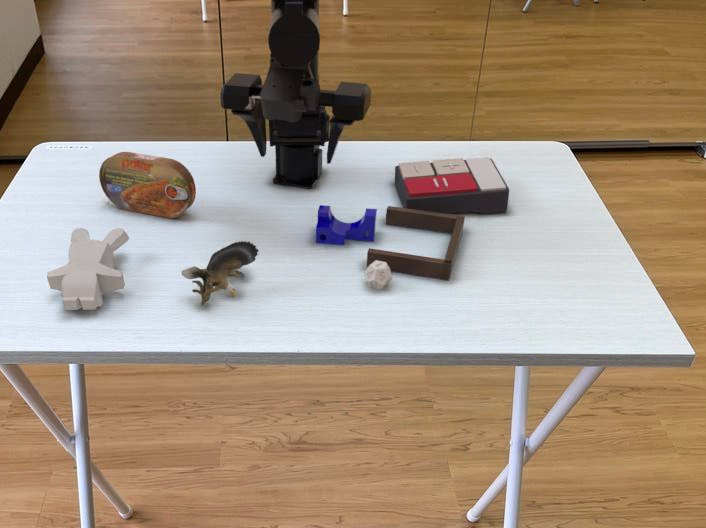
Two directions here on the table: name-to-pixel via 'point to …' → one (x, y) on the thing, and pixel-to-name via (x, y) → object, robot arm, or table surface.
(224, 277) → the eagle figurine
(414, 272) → the square wooden border
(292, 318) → the table surface
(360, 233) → the cable holder
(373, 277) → the game die
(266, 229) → the table surface
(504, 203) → the calculator
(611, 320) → the table surface
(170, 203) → the tin
